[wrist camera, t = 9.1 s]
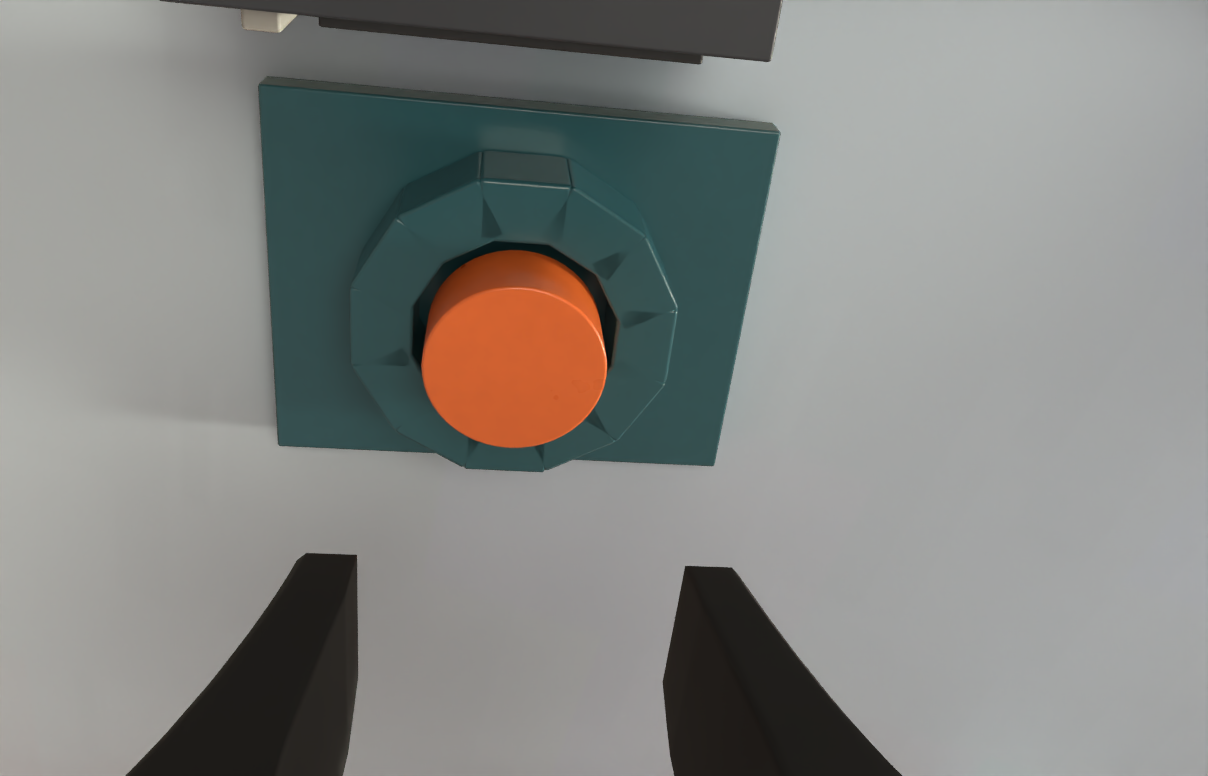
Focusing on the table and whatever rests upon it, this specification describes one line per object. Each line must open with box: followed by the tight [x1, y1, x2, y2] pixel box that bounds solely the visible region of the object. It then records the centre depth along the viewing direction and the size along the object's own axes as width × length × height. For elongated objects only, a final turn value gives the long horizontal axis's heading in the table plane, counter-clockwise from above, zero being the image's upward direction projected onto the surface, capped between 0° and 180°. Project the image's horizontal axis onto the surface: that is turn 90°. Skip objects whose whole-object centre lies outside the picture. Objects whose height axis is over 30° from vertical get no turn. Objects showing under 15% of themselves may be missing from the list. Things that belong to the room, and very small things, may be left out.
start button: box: [421, 250, 607, 448], centre depth 19 cm, size 3×3×2 cm
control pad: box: [258, 76, 780, 472], centre depth 21 cm, size 10×8×2 cm
